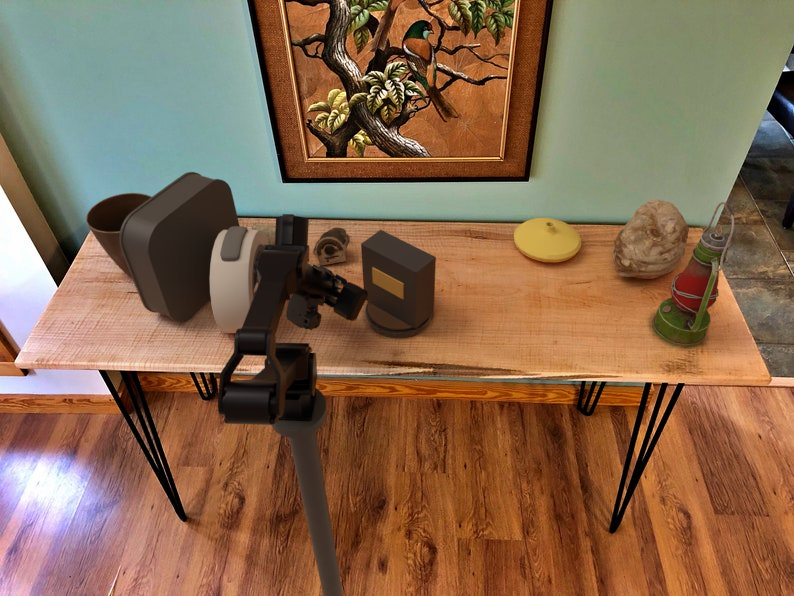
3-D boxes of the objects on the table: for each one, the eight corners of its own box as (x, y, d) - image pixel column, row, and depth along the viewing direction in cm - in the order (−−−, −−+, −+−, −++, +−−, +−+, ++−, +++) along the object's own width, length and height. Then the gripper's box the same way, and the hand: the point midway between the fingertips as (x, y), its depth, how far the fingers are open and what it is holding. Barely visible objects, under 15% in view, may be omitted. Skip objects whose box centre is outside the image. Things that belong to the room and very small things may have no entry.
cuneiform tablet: (299, 259, 147) (249, 254, 148) (304, 250, 151) (256, 246, 152) (297, 231, 143) (247, 227, 144) (302, 223, 147) (253, 219, 148)
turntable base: (431, 339, 127) (431, 334, 126) (362, 337, 128) (362, 332, 127) (431, 293, 138) (431, 288, 136) (368, 291, 138) (368, 286, 137)
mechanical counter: (297, 244, 142) (334, 246, 138) (322, 210, 150) (358, 211, 146) (308, 267, 147) (344, 270, 143) (331, 233, 155) (366, 235, 150)
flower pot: (174, 243, 152) (157, 187, 141) (178, 281, 141) (160, 224, 130) (110, 256, 148) (86, 199, 138) (109, 296, 138) (84, 238, 127)
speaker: (176, 332, 129) (141, 235, 112) (144, 319, 132) (105, 223, 115) (247, 263, 146) (226, 170, 129) (218, 253, 149) (194, 160, 132)
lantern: (645, 304, 134) (687, 185, 114) (695, 306, 133) (747, 187, 113) (659, 352, 124) (708, 230, 104) (714, 355, 123) (775, 233, 103)
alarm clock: (258, 346, 126) (241, 272, 113) (222, 346, 126) (200, 272, 113) (275, 278, 142) (261, 205, 128) (242, 278, 142) (225, 205, 129)
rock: (682, 295, 136) (705, 240, 126) (608, 288, 138) (624, 233, 128) (669, 246, 149) (689, 192, 139) (602, 240, 151) (616, 187, 141)
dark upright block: (404, 340, 124) (404, 282, 114) (353, 310, 131) (348, 252, 121) (443, 306, 132) (446, 248, 121) (392, 279, 138) (391, 221, 128)
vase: (593, 253, 147) (599, 229, 142) (544, 278, 141) (549, 253, 136) (546, 221, 157) (550, 197, 152) (498, 243, 150) (501, 219, 146)
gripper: (245, 296, 116) (296, 307, 129) (317, 342, 107) (363, 349, 121) (271, 242, 115) (319, 259, 128) (345, 284, 106) (388, 298, 120)
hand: (345, 292), depth 124 cm, fingers closed
